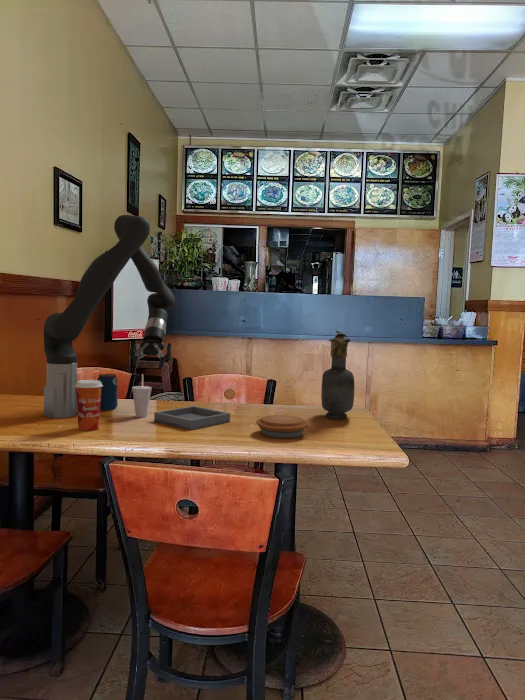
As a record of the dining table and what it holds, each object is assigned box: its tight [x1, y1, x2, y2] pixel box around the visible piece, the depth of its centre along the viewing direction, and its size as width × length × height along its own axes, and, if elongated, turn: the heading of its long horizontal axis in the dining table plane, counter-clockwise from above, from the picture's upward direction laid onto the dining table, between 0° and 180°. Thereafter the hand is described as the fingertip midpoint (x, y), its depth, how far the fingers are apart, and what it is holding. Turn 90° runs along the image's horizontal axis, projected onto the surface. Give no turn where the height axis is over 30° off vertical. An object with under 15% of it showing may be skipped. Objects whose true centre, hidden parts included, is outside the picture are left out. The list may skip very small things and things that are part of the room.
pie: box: [255, 414, 310, 440], centre depth 154 cm, size 16×16×5 cm
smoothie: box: [131, 373, 153, 418], centre depth 172 cm, size 6×6×14 cm
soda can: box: [96, 373, 119, 411], centre depth 183 cm, size 7×7×12 cm
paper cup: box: [75, 379, 103, 432], centre depth 153 cm, size 8×8×14 cm
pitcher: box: [320, 330, 355, 420], centre depth 182 cm, size 11×19×30 cm, turn 176°
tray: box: [153, 405, 231, 431], centre depth 167 cm, size 17×17×3 cm
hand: (147, 367), depth 181 cm, fingers open, 8 cm apart
